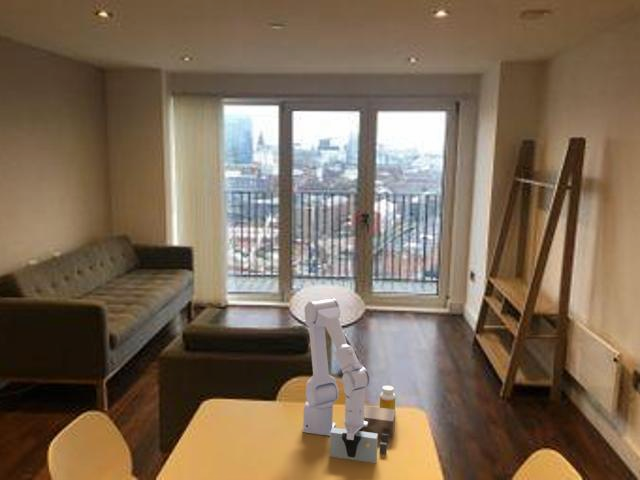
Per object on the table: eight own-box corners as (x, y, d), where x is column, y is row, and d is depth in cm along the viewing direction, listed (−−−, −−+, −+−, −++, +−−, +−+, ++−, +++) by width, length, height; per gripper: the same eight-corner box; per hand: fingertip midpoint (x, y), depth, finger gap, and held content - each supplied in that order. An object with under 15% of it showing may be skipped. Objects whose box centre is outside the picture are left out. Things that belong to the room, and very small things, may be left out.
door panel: (328, 458, 166) (329, 434, 164) (331, 451, 170) (332, 427, 168) (375, 465, 163) (376, 440, 161) (376, 457, 167) (377, 433, 165)
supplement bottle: (394, 418, 190) (395, 392, 189) (378, 416, 191) (379, 390, 190) (395, 410, 196) (396, 385, 194) (380, 409, 197) (381, 383, 195)
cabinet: (341, 447, 172) (341, 429, 171) (350, 420, 188) (351, 404, 187) (389, 454, 168) (390, 436, 167) (394, 426, 185) (395, 409, 184)
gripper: (364, 421, 156) (363, 464, 158) (371, 398, 170) (370, 438, 172) (340, 418, 158) (339, 461, 160) (348, 395, 172) (347, 435, 174)
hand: (353, 449), depth 166 cm, fingers open, 7 cm apart
